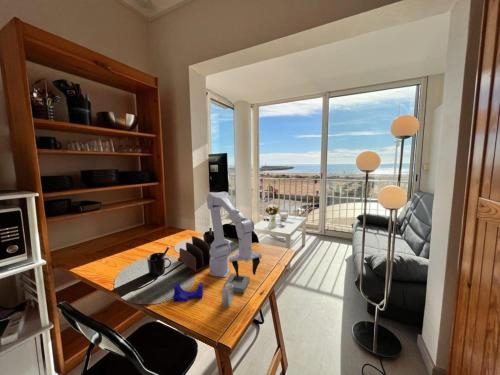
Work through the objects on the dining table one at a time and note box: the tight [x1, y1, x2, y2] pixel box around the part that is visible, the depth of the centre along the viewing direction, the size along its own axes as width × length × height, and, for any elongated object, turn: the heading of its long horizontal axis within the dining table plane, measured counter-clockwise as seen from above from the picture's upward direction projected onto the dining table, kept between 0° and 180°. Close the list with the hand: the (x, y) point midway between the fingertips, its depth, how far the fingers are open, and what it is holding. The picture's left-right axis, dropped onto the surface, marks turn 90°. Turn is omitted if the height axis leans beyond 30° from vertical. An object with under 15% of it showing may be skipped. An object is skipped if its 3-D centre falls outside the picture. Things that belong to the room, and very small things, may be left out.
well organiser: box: [222, 273, 251, 294], centre depth 101 cm, size 10×10×2 cm
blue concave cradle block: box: [172, 282, 204, 303], centre depth 92 cm, size 12×4×6 cm, turn 92°
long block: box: [221, 283, 235, 309], centre depth 89 cm, size 3×6×7 cm, turn 165°
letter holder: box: [179, 235, 211, 273], centre depth 123 cm, size 10×20×14 cm, turn 44°
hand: (245, 274), depth 94 cm, fingers open, 7 cm apart
